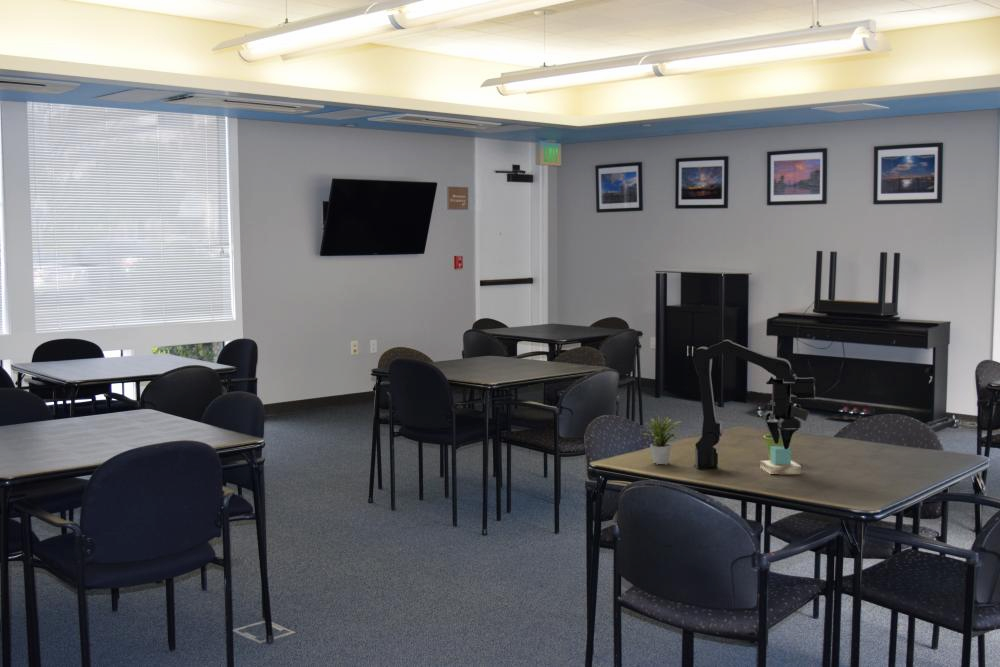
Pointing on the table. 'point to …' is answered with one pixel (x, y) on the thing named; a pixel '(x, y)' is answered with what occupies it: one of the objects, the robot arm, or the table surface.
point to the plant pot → (772, 443)
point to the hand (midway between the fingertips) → (781, 446)
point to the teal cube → (780, 455)
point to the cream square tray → (780, 468)
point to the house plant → (661, 440)
